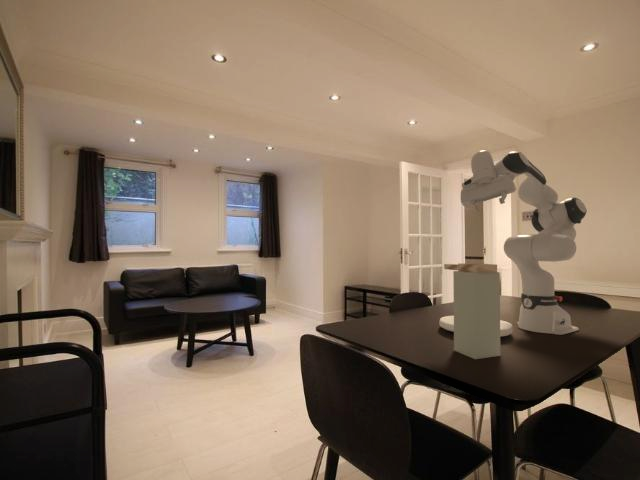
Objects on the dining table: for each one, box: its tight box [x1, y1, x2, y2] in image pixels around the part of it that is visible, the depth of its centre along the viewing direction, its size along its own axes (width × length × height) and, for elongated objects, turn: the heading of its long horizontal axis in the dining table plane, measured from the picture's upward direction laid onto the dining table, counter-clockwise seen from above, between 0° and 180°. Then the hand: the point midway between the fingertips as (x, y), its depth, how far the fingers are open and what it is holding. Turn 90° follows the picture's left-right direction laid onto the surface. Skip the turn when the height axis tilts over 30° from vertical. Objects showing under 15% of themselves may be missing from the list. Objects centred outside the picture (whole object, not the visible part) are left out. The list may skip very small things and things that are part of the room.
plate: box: [438, 315, 514, 338], centre depth 131 cm, size 28×6×27 cm
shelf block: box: [452, 270, 502, 360], centre depth 106 cm, size 10×9×26 cm
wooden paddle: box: [443, 262, 498, 273], centre depth 110 cm, size 18×7×2 cm, turn 19°
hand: (489, 206), depth 130 cm, fingers open, 8 cm apart
